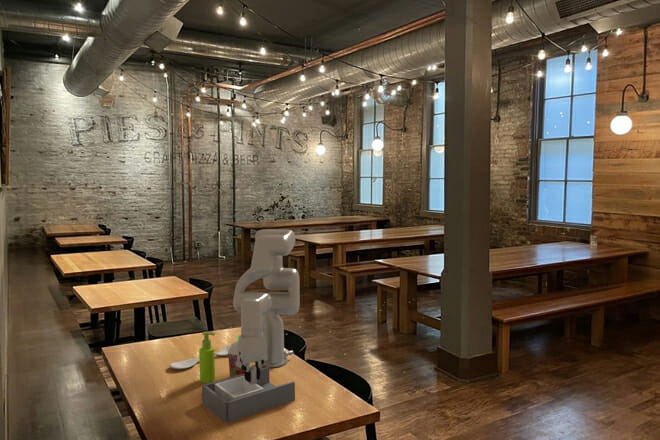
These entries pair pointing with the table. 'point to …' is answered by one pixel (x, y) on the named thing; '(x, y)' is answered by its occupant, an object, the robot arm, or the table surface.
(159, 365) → the table surface
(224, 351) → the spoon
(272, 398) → the bay
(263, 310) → the robot arm
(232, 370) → the smoothie
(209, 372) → the soap dispenser
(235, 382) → the drawer
